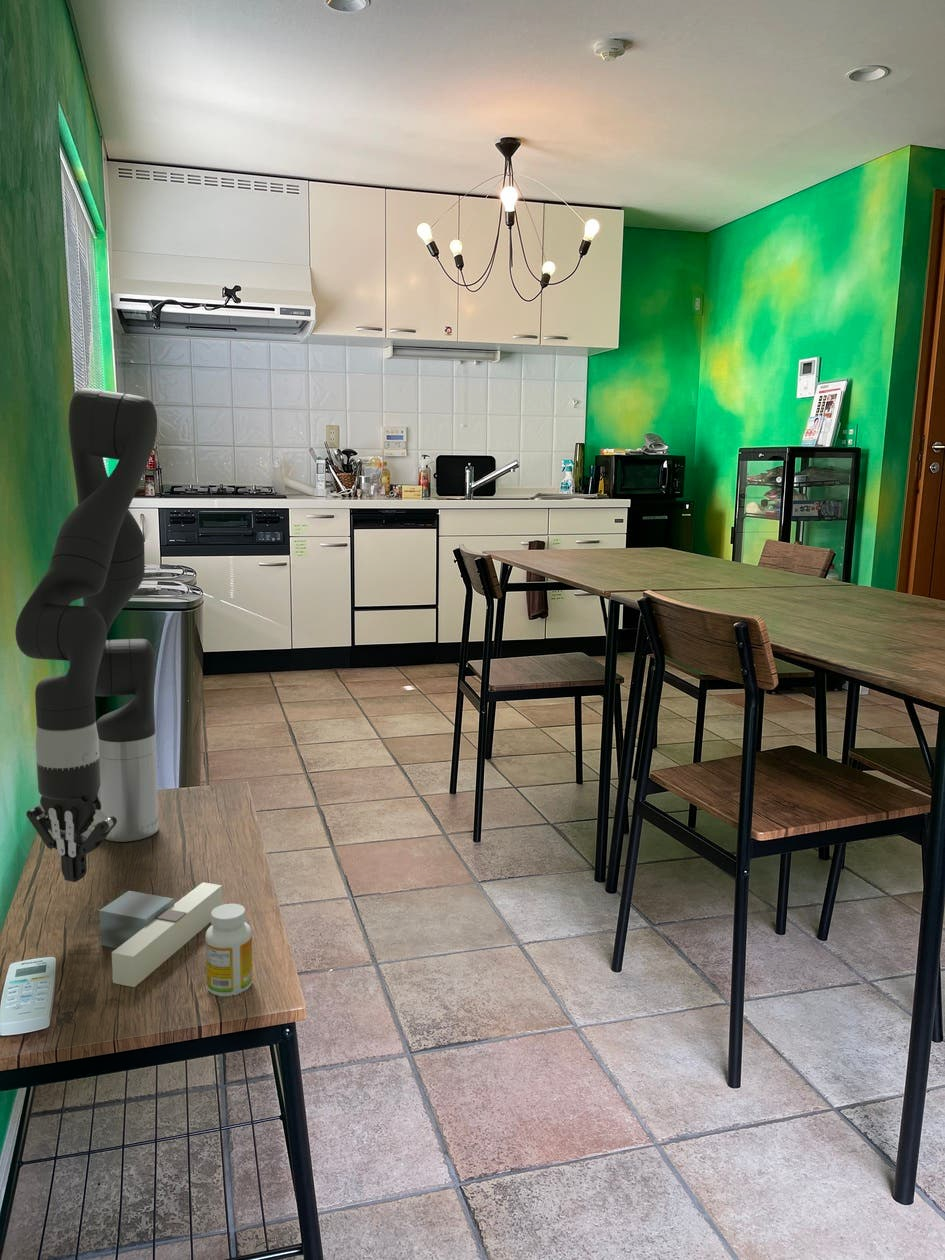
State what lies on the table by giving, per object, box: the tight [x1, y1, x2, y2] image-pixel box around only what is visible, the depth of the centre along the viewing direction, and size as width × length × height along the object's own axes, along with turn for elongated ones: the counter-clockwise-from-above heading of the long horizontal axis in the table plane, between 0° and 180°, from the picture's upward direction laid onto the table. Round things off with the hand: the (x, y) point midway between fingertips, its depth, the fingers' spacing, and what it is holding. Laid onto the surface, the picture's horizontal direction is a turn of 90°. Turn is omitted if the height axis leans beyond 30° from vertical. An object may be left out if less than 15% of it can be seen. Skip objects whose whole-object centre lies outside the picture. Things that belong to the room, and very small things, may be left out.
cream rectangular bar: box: [111, 882, 223, 988], centre depth 120 cm, size 3×20×4 cm, turn 164°
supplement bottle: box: [205, 903, 253, 997], centre depth 110 cm, size 5×5×10 cm
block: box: [98, 890, 175, 949], centre depth 121 cm, size 7×6×5 cm
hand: (74, 878), depth 123 cm, fingers closed
